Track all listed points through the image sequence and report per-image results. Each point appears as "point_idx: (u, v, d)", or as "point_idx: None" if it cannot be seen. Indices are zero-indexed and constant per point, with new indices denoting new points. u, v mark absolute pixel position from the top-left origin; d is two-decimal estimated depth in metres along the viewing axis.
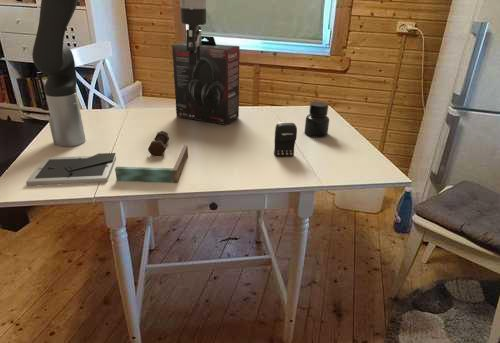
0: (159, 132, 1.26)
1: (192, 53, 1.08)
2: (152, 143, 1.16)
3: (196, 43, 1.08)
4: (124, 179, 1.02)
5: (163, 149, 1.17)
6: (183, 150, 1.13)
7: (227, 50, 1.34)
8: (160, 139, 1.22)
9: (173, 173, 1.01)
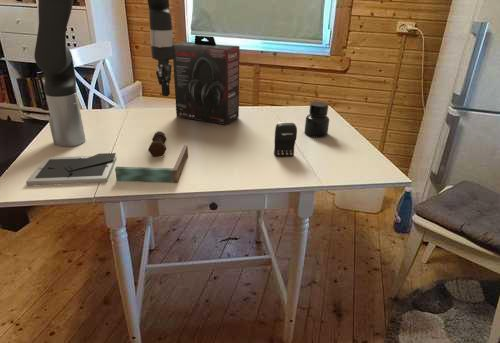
0: (157, 132, 1.26)
1: (164, 86, 1.25)
2: (153, 143, 1.16)
3: (167, 78, 1.24)
4: (124, 179, 1.02)
5: (164, 149, 1.17)
6: (183, 150, 1.13)
7: (227, 50, 1.34)
8: (159, 139, 1.21)
9: (173, 173, 1.01)
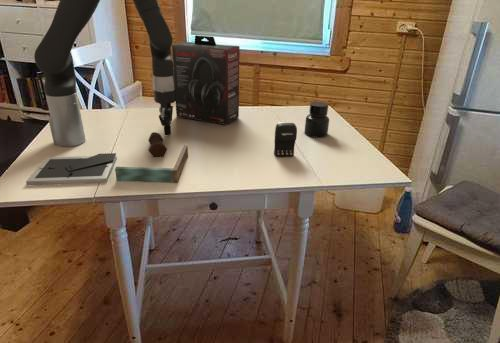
0: (153, 133, 1.25)
1: (166, 126, 1.31)
2: (153, 144, 1.15)
3: (169, 119, 1.30)
4: (124, 179, 1.02)
5: (165, 149, 1.17)
6: (183, 150, 1.13)
7: (227, 50, 1.34)
8: (157, 140, 1.21)
9: (173, 173, 1.01)
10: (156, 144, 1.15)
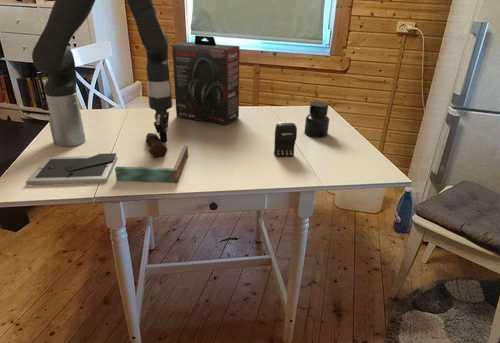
0: (149, 134, 1.24)
1: (162, 133, 1.24)
2: (154, 145, 1.15)
3: (165, 126, 1.23)
4: (124, 179, 1.02)
5: (165, 150, 1.17)
6: (183, 150, 1.13)
7: (227, 50, 1.34)
8: (156, 141, 1.20)
9: (173, 173, 1.01)
10: (156, 144, 1.15)
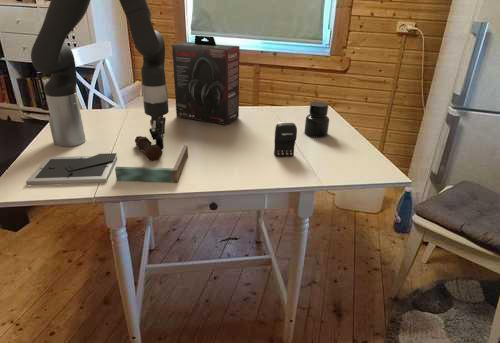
0: (140, 137, 1.21)
1: (158, 140, 1.19)
2: (149, 148, 1.13)
3: (161, 133, 1.18)
4: (124, 179, 1.02)
5: (160, 152, 1.15)
6: (183, 150, 1.13)
7: (227, 50, 1.34)
8: (149, 143, 1.18)
9: (173, 173, 1.01)
10: (152, 147, 1.13)
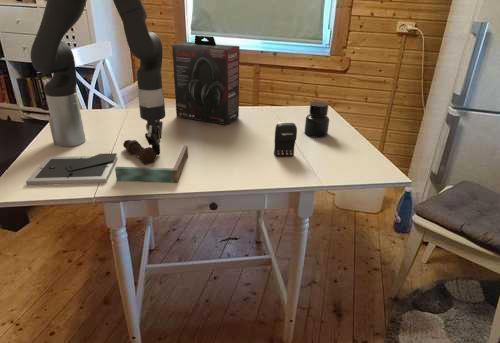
0: (130, 141, 1.18)
1: (154, 145, 1.15)
2: (144, 151, 1.11)
3: (157, 138, 1.14)
4: (124, 179, 1.02)
5: (155, 154, 1.13)
6: (183, 150, 1.13)
7: (227, 50, 1.34)
8: (141, 147, 1.15)
9: (173, 173, 1.01)
10: (147, 150, 1.11)
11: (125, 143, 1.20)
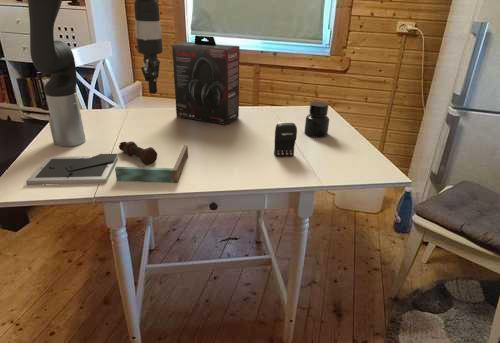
0: (126, 143, 1.17)
1: (151, 82, 1.14)
2: (146, 151, 1.10)
3: (154, 74, 1.13)
4: (124, 179, 1.02)
5: (156, 154, 1.13)
6: (183, 150, 1.13)
7: (227, 50, 1.34)
8: None
9: (173, 173, 1.01)
10: (148, 150, 1.11)
11: (121, 145, 1.18)
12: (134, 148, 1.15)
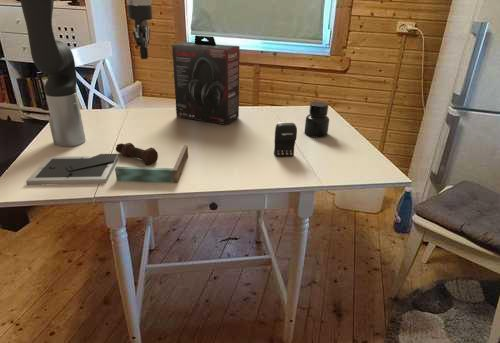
0: (124, 144, 1.16)
1: (142, 48, 1.22)
2: (148, 152, 1.10)
3: (145, 40, 1.21)
4: (124, 179, 1.02)
5: (157, 154, 1.14)
6: (183, 150, 1.13)
7: (227, 50, 1.34)
8: (139, 148, 1.14)
9: (173, 173, 1.01)
10: (150, 151, 1.11)
11: (118, 147, 1.17)
12: (133, 149, 1.14)
